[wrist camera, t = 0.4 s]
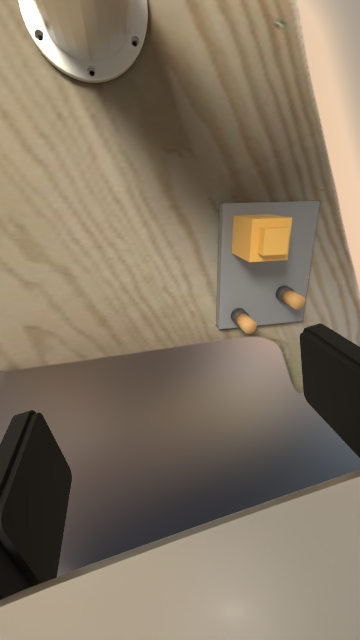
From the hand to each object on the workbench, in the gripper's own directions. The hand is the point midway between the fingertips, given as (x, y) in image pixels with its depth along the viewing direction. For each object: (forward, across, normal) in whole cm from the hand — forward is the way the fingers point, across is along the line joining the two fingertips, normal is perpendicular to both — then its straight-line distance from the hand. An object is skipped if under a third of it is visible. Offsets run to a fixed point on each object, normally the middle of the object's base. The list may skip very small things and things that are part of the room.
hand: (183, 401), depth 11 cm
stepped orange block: (+32, -16, +2) cm, 36 cm away
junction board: (+34, -18, +7) cm, 39 cm away
